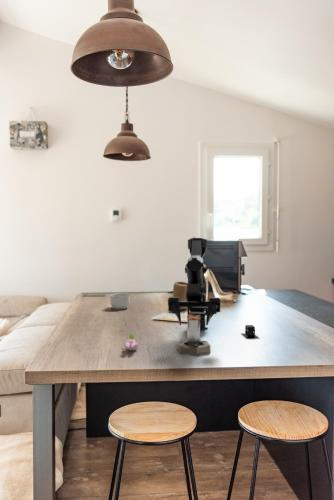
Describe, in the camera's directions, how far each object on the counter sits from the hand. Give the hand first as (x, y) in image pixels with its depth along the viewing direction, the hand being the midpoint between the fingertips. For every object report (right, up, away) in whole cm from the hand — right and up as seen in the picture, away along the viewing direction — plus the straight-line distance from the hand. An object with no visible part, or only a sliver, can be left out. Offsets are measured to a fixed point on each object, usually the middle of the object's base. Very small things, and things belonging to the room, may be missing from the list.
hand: (193, 324), depth 149 cm
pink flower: (-22, -10, +4) cm, 24 cm away
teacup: (-36, -7, +91) cm, 98 cm away
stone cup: (-2, -7, +88) cm, 89 cm away
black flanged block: (+24, -9, +24) cm, 35 cm away
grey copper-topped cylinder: (0, -10, +2) cm, 10 cm away
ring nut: (0, -10, +2) cm, 10 cm away
